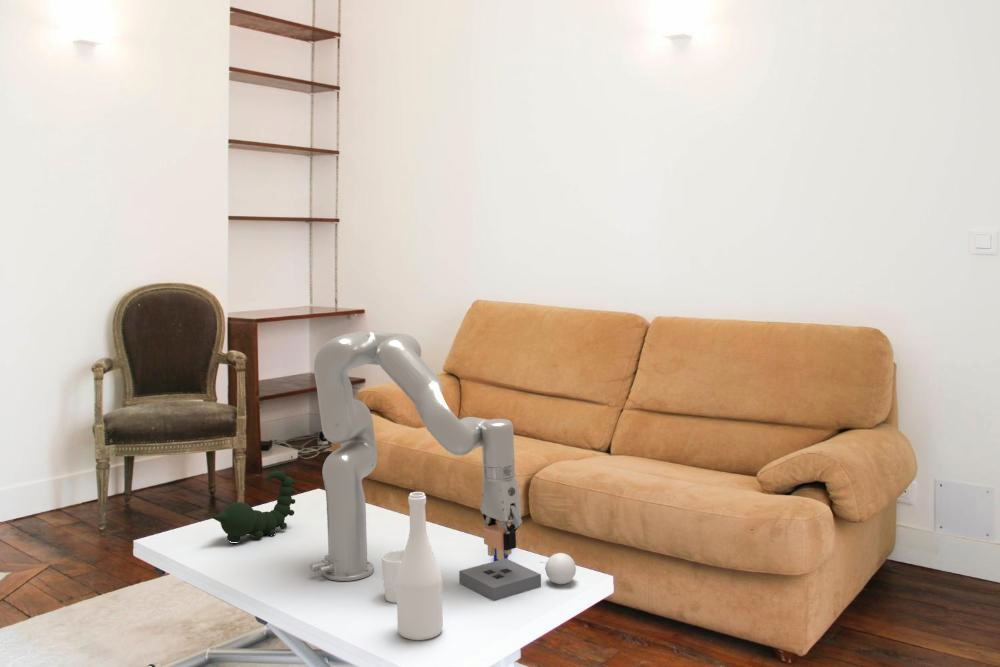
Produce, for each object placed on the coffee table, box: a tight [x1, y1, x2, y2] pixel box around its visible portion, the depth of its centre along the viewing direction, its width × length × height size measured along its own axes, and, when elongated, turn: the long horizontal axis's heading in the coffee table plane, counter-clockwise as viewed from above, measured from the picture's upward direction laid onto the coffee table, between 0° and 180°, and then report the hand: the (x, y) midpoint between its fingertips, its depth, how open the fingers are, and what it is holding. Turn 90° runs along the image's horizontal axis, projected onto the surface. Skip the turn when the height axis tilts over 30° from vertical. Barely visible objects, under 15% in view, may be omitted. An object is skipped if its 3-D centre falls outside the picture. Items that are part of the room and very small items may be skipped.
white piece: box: [540, 552, 577, 585], centre depth 221 cm, size 10×7×7 cm
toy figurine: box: [211, 470, 296, 542], centre depth 256 cm, size 9×19×25 cm
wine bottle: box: [396, 491, 444, 641], centre depth 193 cm, size 10×10×30 cm
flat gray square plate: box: [458, 558, 542, 601], centre depth 220 cm, size 14×14×3 cm
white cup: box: [381, 549, 405, 604], centre depth 212 cm, size 8×8×10 cm
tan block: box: [483, 522, 520, 560], centre depth 219 cm, size 6×6×7 cm
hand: (501, 544), depth 219 cm, fingers closed on tan block, 6 cm apart
